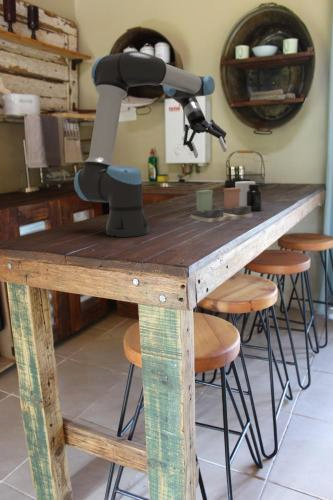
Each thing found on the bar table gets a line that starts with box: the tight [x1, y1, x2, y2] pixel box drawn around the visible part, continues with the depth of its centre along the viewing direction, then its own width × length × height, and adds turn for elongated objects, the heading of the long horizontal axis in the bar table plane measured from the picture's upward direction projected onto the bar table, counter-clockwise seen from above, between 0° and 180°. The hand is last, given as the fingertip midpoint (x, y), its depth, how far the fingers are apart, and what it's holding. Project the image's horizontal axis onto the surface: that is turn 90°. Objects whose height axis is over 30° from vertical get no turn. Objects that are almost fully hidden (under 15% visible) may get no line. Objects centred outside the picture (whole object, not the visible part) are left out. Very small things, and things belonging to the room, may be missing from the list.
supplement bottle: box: [247, 183, 263, 212], centre depth 198 cm, size 7×7×12 cm
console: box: [189, 206, 254, 223], centre depth 181 cm, size 22×14×4 cm, turn 118°
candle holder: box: [234, 180, 257, 206], centre depth 211 cm, size 10×10×12 cm
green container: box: [194, 189, 214, 212], centre depth 179 cm, size 6×5×10 cm
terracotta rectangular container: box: [222, 187, 241, 209], centre depth 185 cm, size 6×5×10 cm
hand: (211, 153), depth 188 cm, fingers open, 13 cm apart
